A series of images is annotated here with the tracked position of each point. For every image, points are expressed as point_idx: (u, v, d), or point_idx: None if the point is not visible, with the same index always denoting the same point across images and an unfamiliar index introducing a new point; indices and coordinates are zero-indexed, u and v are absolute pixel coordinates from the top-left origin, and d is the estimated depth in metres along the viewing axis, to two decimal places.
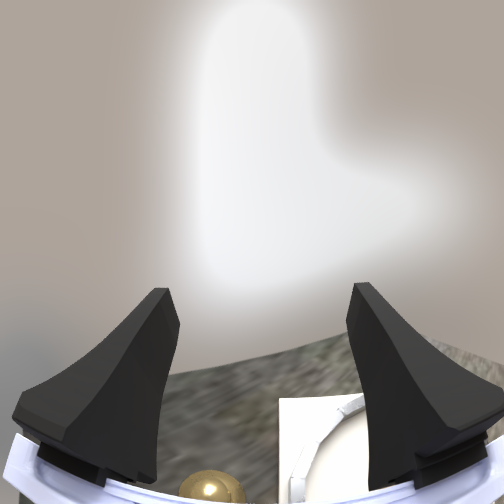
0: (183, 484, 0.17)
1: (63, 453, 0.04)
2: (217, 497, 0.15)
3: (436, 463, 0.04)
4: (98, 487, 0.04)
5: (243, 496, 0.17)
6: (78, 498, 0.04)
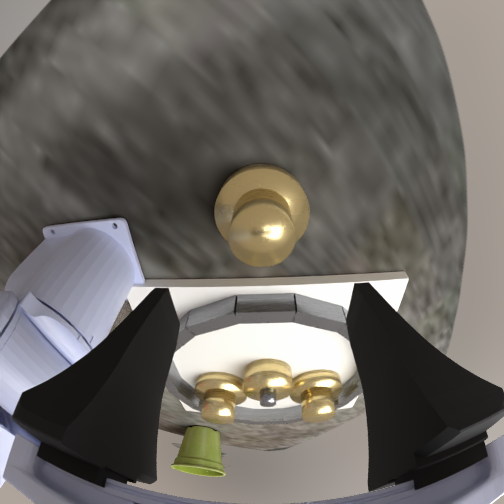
0: (276, 174, 0.16)
1: (63, 453, 0.04)
2: (258, 254, 0.15)
3: (436, 463, 0.04)
4: (98, 487, 0.04)
5: None
6: (78, 498, 0.04)
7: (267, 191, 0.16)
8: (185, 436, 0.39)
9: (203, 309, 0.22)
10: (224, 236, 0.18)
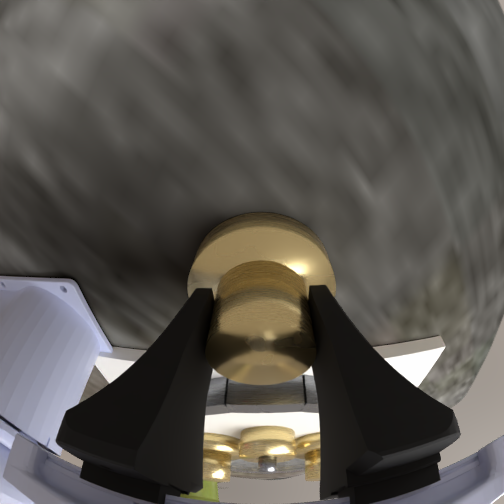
0: (287, 238, 0.10)
1: (114, 473, 0.04)
2: (255, 373, 0.09)
3: (374, 483, 0.04)
4: (98, 487, 0.04)
5: None
6: (78, 498, 0.04)
7: (271, 268, 0.10)
8: None
9: None
10: None
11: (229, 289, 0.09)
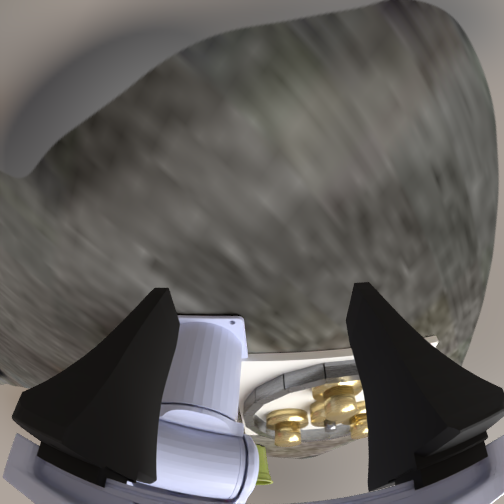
0: None
1: (63, 453, 0.04)
2: (338, 417, 0.25)
3: (436, 463, 0.04)
4: (98, 487, 0.04)
5: None
6: (78, 498, 0.04)
7: (345, 388, 0.26)
8: None
9: (296, 373, 0.27)
10: (315, 399, 0.28)
11: (333, 396, 0.26)
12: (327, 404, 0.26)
